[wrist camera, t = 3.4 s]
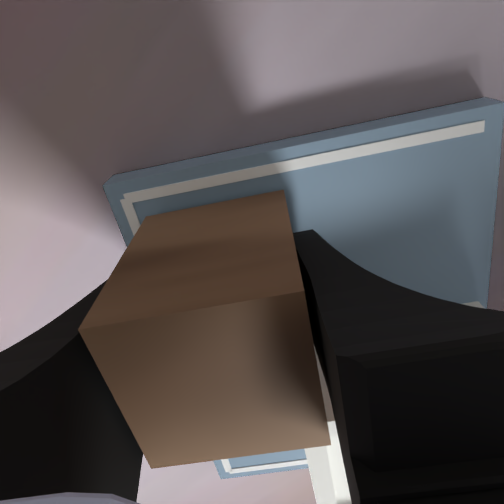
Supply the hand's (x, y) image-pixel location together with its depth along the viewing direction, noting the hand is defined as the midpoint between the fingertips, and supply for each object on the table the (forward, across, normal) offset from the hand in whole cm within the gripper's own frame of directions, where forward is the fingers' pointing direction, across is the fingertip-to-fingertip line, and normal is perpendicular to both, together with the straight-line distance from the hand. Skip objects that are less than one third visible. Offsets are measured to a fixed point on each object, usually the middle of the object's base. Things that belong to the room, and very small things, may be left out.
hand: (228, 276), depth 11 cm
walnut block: (+1, 0, 0) cm, 1 cm away
